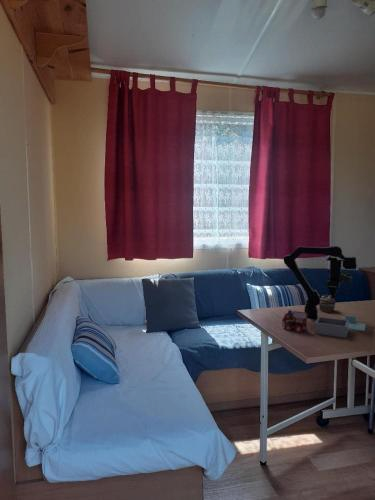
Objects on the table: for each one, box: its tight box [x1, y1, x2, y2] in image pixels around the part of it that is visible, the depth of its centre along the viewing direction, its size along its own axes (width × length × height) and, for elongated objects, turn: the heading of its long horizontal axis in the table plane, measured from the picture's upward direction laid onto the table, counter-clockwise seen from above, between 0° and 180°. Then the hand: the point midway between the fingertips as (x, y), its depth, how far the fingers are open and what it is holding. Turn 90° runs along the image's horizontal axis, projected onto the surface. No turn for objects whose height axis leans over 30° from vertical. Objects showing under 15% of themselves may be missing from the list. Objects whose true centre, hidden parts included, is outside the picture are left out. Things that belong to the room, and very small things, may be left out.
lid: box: [344, 314, 367, 332], centre depth 184 cm, size 14×12×5 cm
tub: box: [314, 316, 349, 339], centre depth 174 cm, size 14×12×6 cm
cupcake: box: [318, 293, 336, 313], centre depth 217 cm, size 10×10×10 cm
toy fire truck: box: [281, 309, 308, 333], centre depth 178 cm, size 7×12×10 cm, turn 56°
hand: (334, 296), depth 197 cm, fingers open, 9 cm apart
